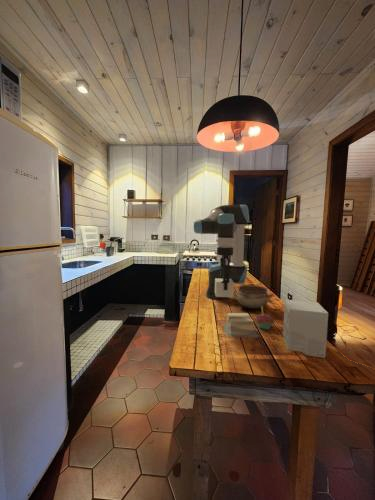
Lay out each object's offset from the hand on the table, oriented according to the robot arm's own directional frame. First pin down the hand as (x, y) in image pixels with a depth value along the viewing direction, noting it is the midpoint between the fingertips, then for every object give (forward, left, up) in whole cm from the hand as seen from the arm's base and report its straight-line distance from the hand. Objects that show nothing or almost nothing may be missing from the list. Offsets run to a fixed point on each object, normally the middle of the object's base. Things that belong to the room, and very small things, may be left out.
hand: (223, 293), depth 104 cm
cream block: (0, 0, 0) cm, 0 cm away
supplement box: (+17, +30, -17) cm, 38 cm away
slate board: (+5, +7, -17) cm, 19 cm away
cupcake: (+1, +20, -17) cm, 26 cm away
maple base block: (+5, +7, -16) cm, 18 cm away
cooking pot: (-28, +22, -17) cm, 40 cm away
